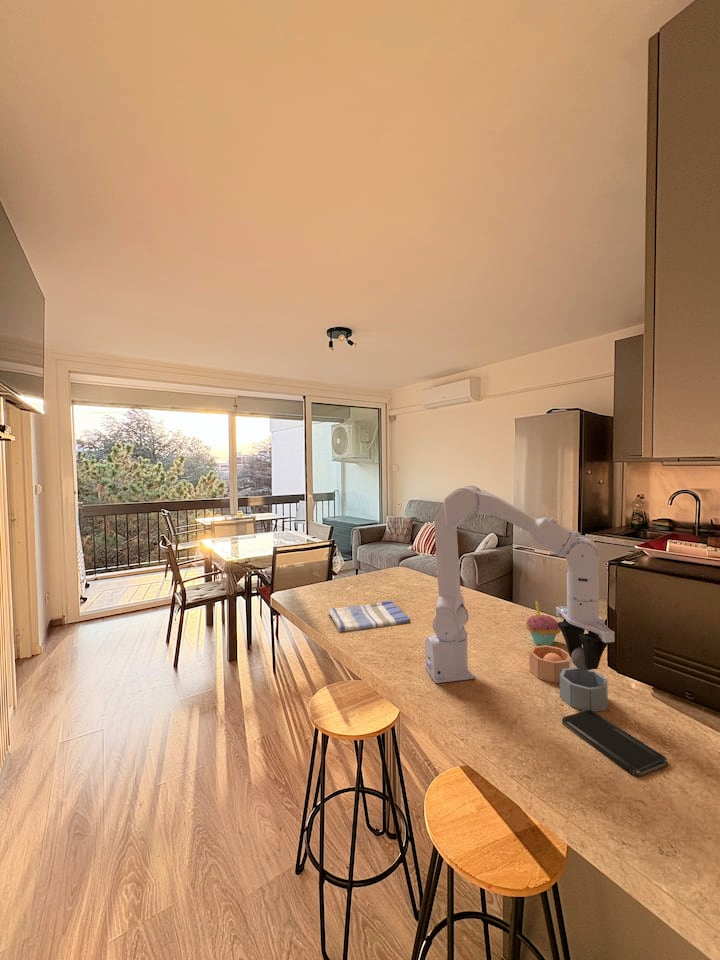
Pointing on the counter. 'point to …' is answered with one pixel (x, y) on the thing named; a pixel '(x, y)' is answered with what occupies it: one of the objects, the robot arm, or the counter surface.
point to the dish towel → (367, 616)
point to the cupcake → (542, 628)
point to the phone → (615, 743)
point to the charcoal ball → (579, 658)
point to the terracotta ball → (552, 657)
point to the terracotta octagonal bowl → (548, 663)
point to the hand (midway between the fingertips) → (583, 662)
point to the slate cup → (584, 689)
